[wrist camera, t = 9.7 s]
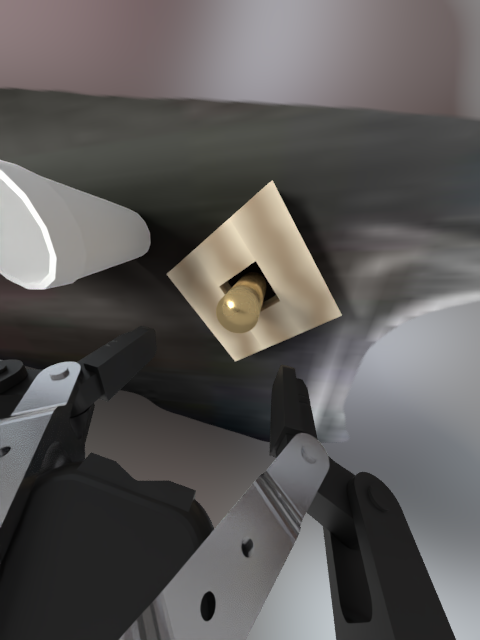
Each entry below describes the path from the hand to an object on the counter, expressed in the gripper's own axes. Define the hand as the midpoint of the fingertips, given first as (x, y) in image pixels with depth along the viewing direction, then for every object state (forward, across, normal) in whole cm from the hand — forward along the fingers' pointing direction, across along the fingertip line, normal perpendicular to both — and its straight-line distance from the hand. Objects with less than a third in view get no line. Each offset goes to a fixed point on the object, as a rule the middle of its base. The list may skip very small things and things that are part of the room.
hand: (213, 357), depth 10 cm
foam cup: (+16, +19, -4) cm, 25 cm away
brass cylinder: (+16, 0, 0) cm, 16 cm away
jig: (+16, 0, 0) cm, 16 cm away
